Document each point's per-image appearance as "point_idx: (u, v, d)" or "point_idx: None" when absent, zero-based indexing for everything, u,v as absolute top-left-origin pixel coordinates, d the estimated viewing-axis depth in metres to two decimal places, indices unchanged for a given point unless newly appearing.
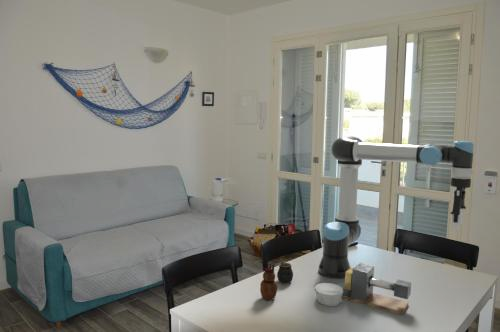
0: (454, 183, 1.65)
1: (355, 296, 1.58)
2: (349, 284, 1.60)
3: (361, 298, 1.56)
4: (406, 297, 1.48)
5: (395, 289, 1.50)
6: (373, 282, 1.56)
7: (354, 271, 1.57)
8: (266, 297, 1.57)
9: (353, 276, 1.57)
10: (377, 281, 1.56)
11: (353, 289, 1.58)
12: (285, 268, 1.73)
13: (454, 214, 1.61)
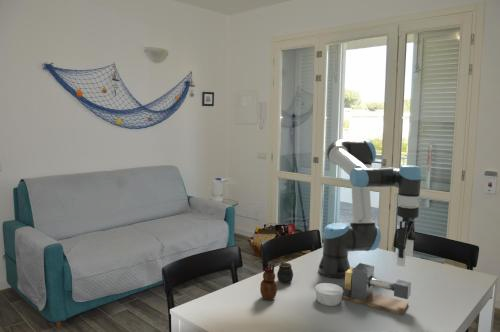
0: (400, 212, 1.47)
1: (355, 296, 1.58)
2: (349, 284, 1.60)
3: (361, 298, 1.56)
4: (406, 297, 1.48)
5: (395, 289, 1.50)
6: (373, 282, 1.56)
7: (354, 271, 1.57)
8: (266, 297, 1.57)
9: (353, 276, 1.57)
10: (377, 281, 1.56)
11: (353, 289, 1.58)
12: (285, 268, 1.73)
13: (399, 248, 1.43)
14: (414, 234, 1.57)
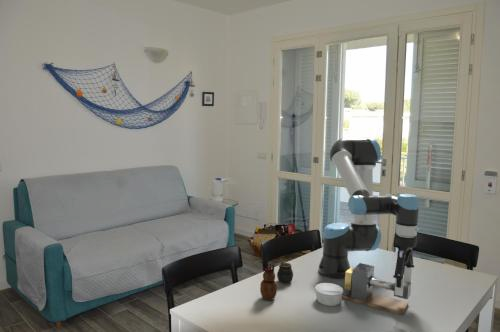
0: (398, 241, 1.47)
1: (355, 296, 1.58)
2: (349, 284, 1.60)
3: (361, 298, 1.56)
4: (406, 297, 1.48)
5: None
6: (373, 282, 1.56)
7: (354, 271, 1.57)
8: (266, 297, 1.57)
9: (353, 276, 1.57)
10: (377, 281, 1.56)
11: (353, 289, 1.58)
12: (285, 268, 1.73)
13: (397, 278, 1.44)
14: (412, 261, 1.57)
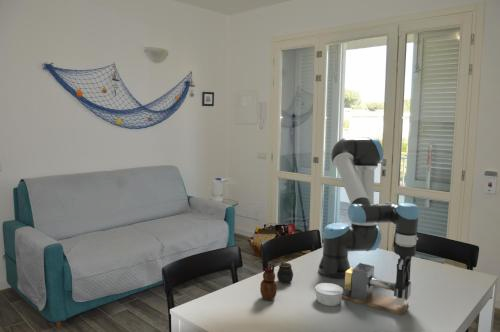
0: (398, 250, 1.48)
1: (355, 296, 1.58)
2: (349, 284, 1.60)
3: (361, 298, 1.56)
4: (406, 297, 1.48)
5: (395, 289, 1.50)
6: (373, 282, 1.56)
7: (354, 271, 1.57)
8: (266, 297, 1.57)
9: (353, 276, 1.57)
10: (377, 281, 1.56)
11: (353, 289, 1.58)
12: (285, 268, 1.73)
13: (398, 289, 1.48)
14: (409, 277, 1.55)
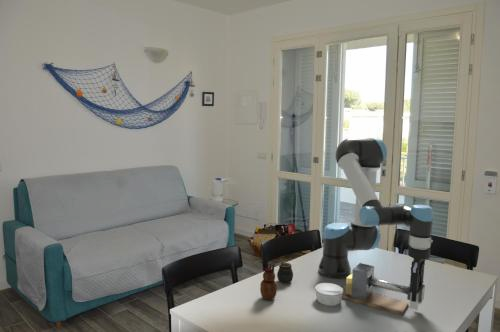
0: (412, 253, 1.45)
1: (355, 296, 1.58)
2: (350, 290, 1.60)
3: (361, 298, 1.56)
4: (420, 301, 1.46)
5: (408, 292, 1.48)
6: (386, 285, 1.53)
7: (354, 271, 1.57)
8: (266, 297, 1.57)
9: (353, 276, 1.57)
10: (390, 284, 1.53)
11: (353, 289, 1.58)
12: (285, 268, 1.73)
13: (412, 292, 1.45)
14: None
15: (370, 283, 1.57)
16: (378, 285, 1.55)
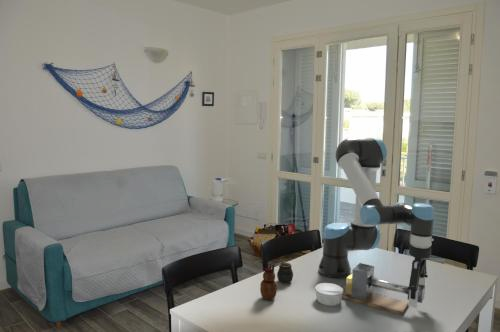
0: (413, 252, 1.45)
1: (355, 296, 1.58)
2: (350, 290, 1.60)
3: (361, 298, 1.56)
4: (420, 301, 1.46)
5: (409, 292, 1.48)
6: (386, 285, 1.53)
7: (354, 271, 1.57)
8: (266, 297, 1.57)
9: (353, 276, 1.57)
10: (390, 284, 1.53)
11: (353, 289, 1.58)
12: (285, 268, 1.73)
13: (411, 290, 1.41)
14: (426, 271, 1.55)
15: (370, 283, 1.57)
16: (378, 285, 1.55)
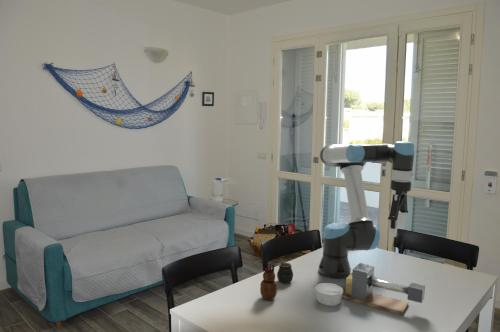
0: (394, 186, 1.55)
1: (355, 296, 1.58)
2: (350, 290, 1.60)
3: (361, 298, 1.56)
4: (420, 301, 1.46)
5: (409, 292, 1.48)
6: (386, 285, 1.53)
7: (354, 271, 1.57)
8: (266, 297, 1.57)
9: (353, 276, 1.57)
10: (390, 284, 1.53)
11: (353, 289, 1.58)
12: (285, 268, 1.73)
13: (391, 220, 1.52)
14: (406, 207, 1.65)
15: (370, 283, 1.57)
16: (378, 285, 1.55)
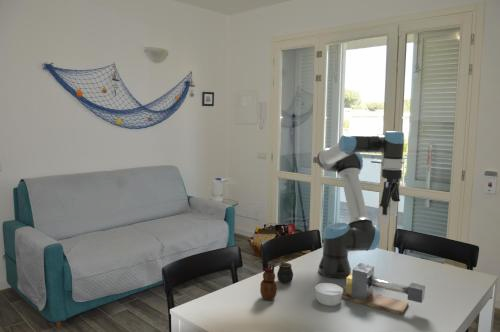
0: (385, 174, 1.60)
1: (355, 296, 1.58)
2: (350, 290, 1.60)
3: (361, 298, 1.56)
4: (420, 301, 1.46)
5: (409, 292, 1.48)
6: (386, 285, 1.53)
7: (354, 271, 1.57)
8: (266, 297, 1.57)
9: (353, 276, 1.57)
10: (390, 284, 1.53)
11: (353, 289, 1.58)
12: (285, 268, 1.73)
13: (383, 206, 1.56)
14: (398, 196, 1.70)
15: (370, 283, 1.57)
16: (378, 285, 1.55)
